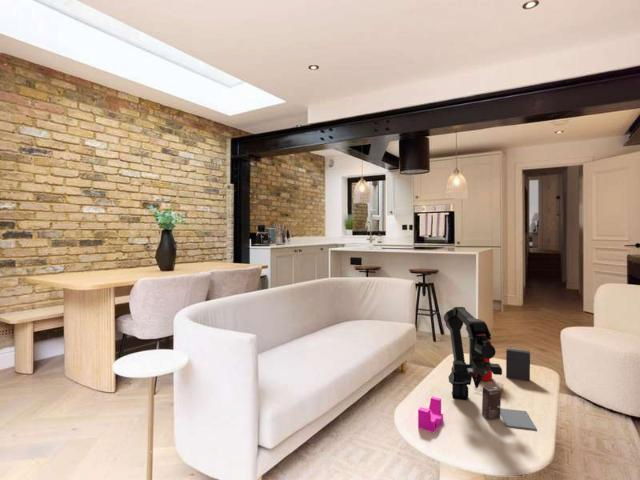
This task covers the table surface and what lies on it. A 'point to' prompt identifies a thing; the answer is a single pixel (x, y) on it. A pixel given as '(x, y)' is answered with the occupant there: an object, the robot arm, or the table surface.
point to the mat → (517, 419)
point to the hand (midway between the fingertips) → (476, 387)
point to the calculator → (518, 364)
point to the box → (491, 402)
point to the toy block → (430, 415)
